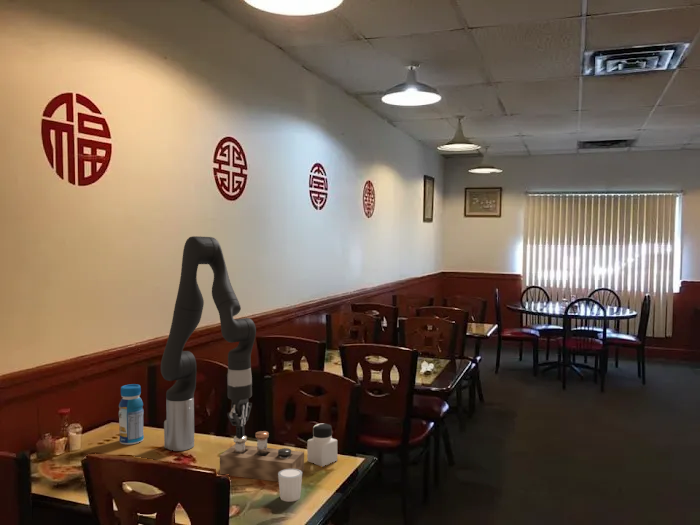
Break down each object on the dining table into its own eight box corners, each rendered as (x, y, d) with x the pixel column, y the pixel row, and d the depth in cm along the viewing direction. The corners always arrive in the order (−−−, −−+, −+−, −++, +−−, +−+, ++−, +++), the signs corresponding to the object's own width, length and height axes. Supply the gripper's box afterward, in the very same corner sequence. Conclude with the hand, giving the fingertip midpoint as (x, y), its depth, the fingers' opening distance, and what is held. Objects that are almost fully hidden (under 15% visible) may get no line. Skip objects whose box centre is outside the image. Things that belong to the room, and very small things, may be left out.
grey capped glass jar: (276, 475, 182) (275, 452, 181) (281, 470, 185) (281, 447, 185) (288, 476, 180) (288, 453, 180) (293, 471, 184) (293, 449, 184)
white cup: (292, 504, 163) (292, 479, 162) (273, 498, 166) (272, 474, 166) (307, 495, 168) (307, 471, 168) (288, 490, 172) (288, 466, 172)
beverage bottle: (139, 445, 209) (138, 389, 208) (115, 445, 209) (114, 389, 208) (147, 437, 217) (146, 383, 217) (124, 437, 218) (123, 383, 217)
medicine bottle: (337, 461, 194) (337, 424, 194) (322, 467, 189) (322, 430, 189) (322, 455, 199) (322, 420, 199) (306, 461, 194) (306, 425, 194)
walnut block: (219, 474, 184) (219, 455, 183) (234, 462, 193) (234, 444, 193) (292, 483, 177) (292, 463, 177) (304, 470, 186) (304, 451, 186)
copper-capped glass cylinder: (253, 457, 183) (253, 434, 183) (259, 453, 187) (258, 430, 187) (265, 458, 182) (265, 435, 182) (270, 454, 186) (270, 431, 186)
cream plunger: (231, 461, 186) (231, 438, 185) (237, 456, 189) (237, 434, 189) (243, 462, 184) (243, 439, 184) (248, 457, 188) (248, 435, 188)
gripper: (238, 376, 193) (239, 429, 194) (218, 386, 181) (219, 442, 181) (259, 378, 191) (260, 431, 192) (241, 388, 179) (241, 445, 179)
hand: (240, 436), depth 187 cm, fingers closed
